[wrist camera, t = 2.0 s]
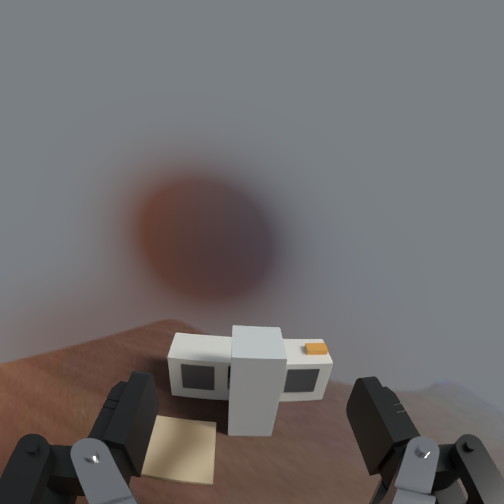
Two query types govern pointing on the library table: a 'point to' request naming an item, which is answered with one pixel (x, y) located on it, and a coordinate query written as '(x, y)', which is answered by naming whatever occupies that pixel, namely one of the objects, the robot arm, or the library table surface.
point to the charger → (255, 379)
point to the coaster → (181, 451)
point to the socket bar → (219, 363)
